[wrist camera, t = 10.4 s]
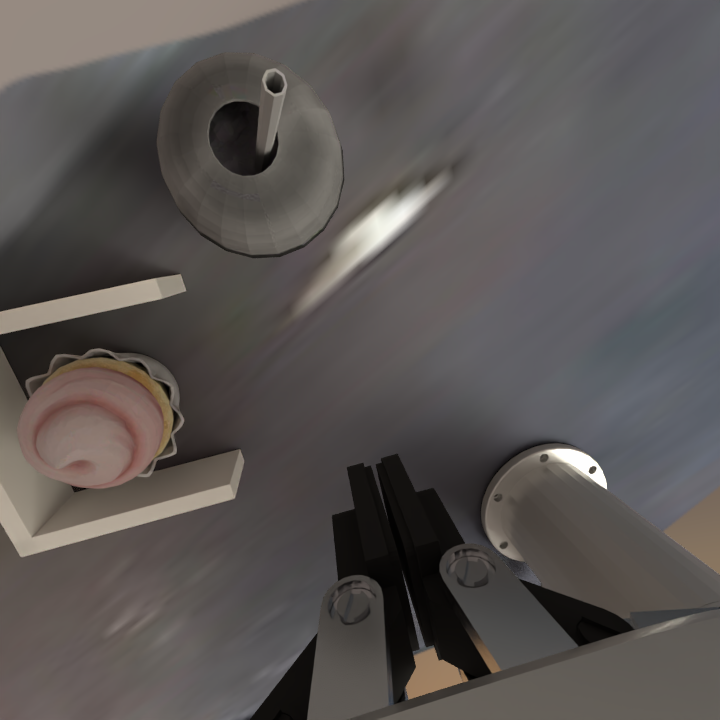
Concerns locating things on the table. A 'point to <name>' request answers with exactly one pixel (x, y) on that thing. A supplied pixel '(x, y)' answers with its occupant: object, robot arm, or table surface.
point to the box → (91, 506)
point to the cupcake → (100, 418)
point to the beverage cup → (250, 155)
